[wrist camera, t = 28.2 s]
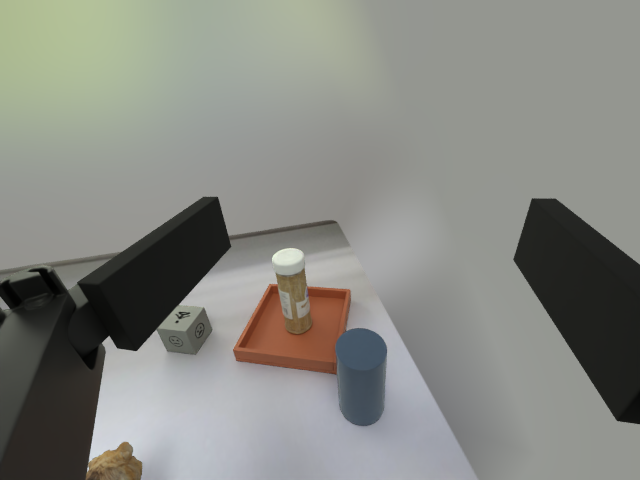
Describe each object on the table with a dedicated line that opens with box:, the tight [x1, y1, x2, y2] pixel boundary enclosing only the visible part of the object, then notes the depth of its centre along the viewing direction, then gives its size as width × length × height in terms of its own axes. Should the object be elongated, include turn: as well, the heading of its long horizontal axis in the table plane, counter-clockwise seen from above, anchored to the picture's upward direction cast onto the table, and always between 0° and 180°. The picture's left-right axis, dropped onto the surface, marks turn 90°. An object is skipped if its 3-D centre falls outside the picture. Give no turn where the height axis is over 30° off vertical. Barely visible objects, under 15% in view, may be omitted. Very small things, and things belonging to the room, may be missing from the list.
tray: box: [233, 284, 351, 374], centre depth 47 cm, size 15×15×2 cm
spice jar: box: [272, 248, 312, 334], centre depth 44 cm, size 5×5×13 cm
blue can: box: [335, 328, 387, 426], centre depth 33 cm, size 6×6×10 cm
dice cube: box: [157, 305, 212, 355], centre depth 46 cm, size 5×5×5 cm
